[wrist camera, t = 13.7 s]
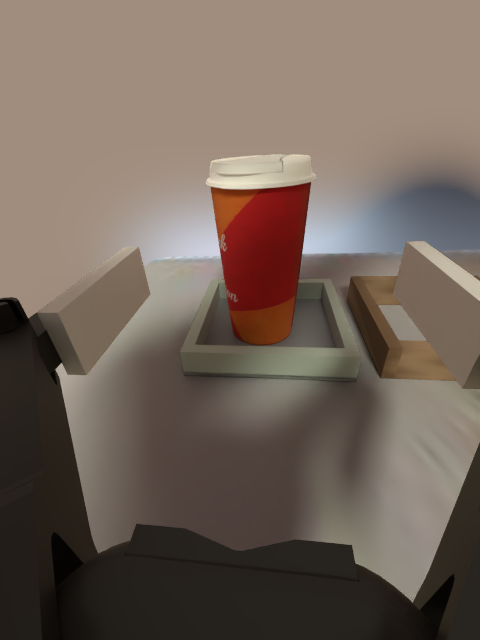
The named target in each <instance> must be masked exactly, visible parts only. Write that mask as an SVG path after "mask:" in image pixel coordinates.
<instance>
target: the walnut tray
mask: <svg viewBox="0 0 480 640" xmlns="http://www.w3.org/2000/svg"><path fill="white" fill-rule="evenodd" d="M473 277H475V278H476V279H478V280H479V281H480V278H479V277H478V276H473ZM396 280H397V276H356V277H351V279H350V285H349V291H348V297H347V301H348V304H349V306H350V308H351V310H352V313H353V315H354V317H355V320H356V322H357V324H358V327H359V329H360V331H361V334H362V336H363V338H364V340H365V343H366V345H367V347H368V350H369V352H370V354H371V357H372V359H373V361H374V364H375V366H376V368H377V371H378V373H379V375H380V377H381V378H397V379H426V380H454V381H456V379H455V378H454V377H453V375H452V374H451V372H450V371H449V370H448V368H447V367H446V366H445V364H444V363H443V362H442V360H441V359H440V358H439V356H438V355H437V353H436V352H435V351H434V349H433V348H432V347H431V345H430V344H429V343H428V341H401V340H398V339H397V337H396V335H395V334H394V332H393V330H392V329H391V327H390V325H389V324H388V322H387V320H386V319H385V317H384V315H383V314H382V312H381V310H380V309H379V307H378V305H377V304H382V305H401V304H400V303H399V302H398V300H397V299H396V298H395V296H394V295H393V292H394V288H395V284H396Z"/></svg>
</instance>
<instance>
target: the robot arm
mask: <svg viewBox="0 0 480 640" xmlns="http://www.w3.org/2000/svg"><path fill="white" fill-rule="evenodd" d="M149 295H150V290H149V286H148V282H147V278H146V274H145V270H144V266H143V262H142V258H141V254H140V250H139V247H124V248H123V249H122V250H120V251H119V252H118V253H116V254H115V255H113V256H112V257H111V258H109V259H108V260H107V261H105V262H104V263H103V264H101V265H100V266H99V267H98V268H96V269H95V270H93V271H92V272H91V273H89V274H88V275H87V276H85V277H84V278H83V279H81V280H80V281H78V282H77V283H76V284H74V285H73V286H72V287H70V288H69V289H68V290H66V291H65V292H64V293H62V294H61V295H60V296H58V297H57V298H56V299H54V300H53V301H51V302H50V303H49V304H47V305H46V306H45V307H43V308H42V309H41V310H39V311H38V312H37V313H35V314H34V315H33V316H31V317H30V318H29V319H28V317H27V315H26V314H25V312H24V310H23V308H22V306H21V304H20V302H19V300H18V299H17V298H12V297H10V298H2V299H0V640H480V443H479V446H478V448H477V451H476V453H475V456H474V458H473V461H472V463H471V466H470V468H469V471H468V473H467V476H466V479H465V481H464V484H463V486H462V489H461V491H460V494H459V496H458V499H457V501H456V504H455V506H454V509H453V511H452V514H451V516H450V519H449V522H448V524H447V527H446V529H445V532H444V534H443V537H442V539H441V542H440V544H439V547H438V549H437V552H436V554H435V557H434V559H433V562H432V565H431V567H430V569H429V572H428V574H427V576H426V578H425V580H424V582H423V584H422V586H421V588H420V589H419V591H418V593H417V595H416V597H415V599H414V601H413V603H412V602H411V601H410V600H409V599H408V598H407V597H406V596H405V595H404V594H402V593H401V592H400V591H399V590H398V589H397V588H395V587H394V586H393V585H392V584H390V583H389V582H387V581H386V580H385V579H383V578H382V577H380V576H379V575H377V574H375V573H374V572H372V571H370V570H368V569H367V568H365V567H363V566H360V565H358V564H356V563H355V560H354V554H353V549H352V545H345V544H335V543H325V542H315V541H305V540H291V541H287V542H282V543H277V544H273V545H268V546H263V547H259V548H254V549H249V550H245V551H235V550H232V549H230V548H228V547H225V546H223V545H221V544H219V543H217V542H214V541H212V540H210V539H208V538H205V537H203V536H201V535H199V534H196V533H194V532H192V531H190V530H187V529H183V528H173V527H162V526H152V525H142V524H136V527H135V530H134V533H133V535H132V538H131V541H128V542H124V543H122V544H119V545H116V546H113V547H111V548H109V549H107V550H105V551H103V552H101V553H99V554H98V552H97V550H96V547H95V545H94V542H93V539H92V536H91V532H90V527H89V522H88V517H87V512H86V507H85V502H84V497H83V492H82V487H81V482H80V478H79V473H78V468H77V463H76V458H75V453H74V448H73V443H72V438H71V433H70V428H69V423H68V419H67V414H66V409H65V404H64V399H63V394H62V389H61V384H60V379H59V376H58V374H57V372H56V370H55V369H56V368H57V367H58V366H59V365H60V364H61V363H62V364H63V366H64V368H65V370H66V372H67V374H68V375H87V374H88V373H89V371H90V370H91V369H92V368H93V366H94V365H95V364H96V362H97V361H98V360H99V359H100V357H101V356H102V355H103V354H104V352H105V351H106V350H107V348H108V347H109V346H110V345H111V343H112V342H113V341H114V340H115V338H116V337H117V336H118V335H119V333H120V332H121V331H122V329H123V328H124V327H125V326H126V324H127V323H128V322H129V321H130V319H131V318H132V317H133V316H134V314H135V313H136V312H137V310H138V309H139V308H140V307H141V305H142V304H143V303H144V302H145V300H146V299H147V298H148V296H149ZM393 295H394V296H395V298H396V299H397V300H398V302H399V303H400V304H401V306H402V307H403V308H404V310H405V311H406V313H407V314H408V315H409V317H410V318H411V319H412V321H413V322H414V323H415V325H416V326H417V328H418V329H419V330H420V332H421V333H422V334H423V336H424V337H425V338H426V340H427V341H428V343H429V344H430V345H431V347H432V348H433V349H434V351H435V352H436V353H437V355H438V356H439V358H440V359H441V360H442V362H443V363H444V364H445V366H446V367H447V368H448V370H449V371H450V372H451V374H452V375H453V377H454V378H455V379H456V381H457V382H458V383H459V385H460V386H461V387H462V388H465V389H480V281H479V280H478V279H476V278H475V277H473V276H472V275H471V274H469V273H468V272H466V271H465V270H464V269H462V268H461V267H460V266H458V265H457V264H455V263H454V262H453V261H451V260H450V259H448V258H447V257H446V256H444V255H443V254H441V253H440V252H439V251H437V250H436V249H434V248H433V247H432V246H430V245H429V244H427V243H426V242H425V241H407V242H406V245H405V249H404V253H403V257H402V261H401V265H400V268H399V272H398V276H397V280H396V284H395V288H394V292H393Z"/></svg>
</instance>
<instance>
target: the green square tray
mask: <svg viewBox="0 0 480 640" xmlns="http://www.w3.org/2000/svg"><path fill="white" fill-rule="evenodd" d="M180 356H181V361H182V366H183V371H184V375H194V376H221V377H248V378H276V379H303V380H330V381H356V380H357V375H358V371H359V367H360V362H361V358H362V357H361V354H360V351H359V349H358V346H357V344H356V341H355V338H354V336H353V333H352V331H351V328H350V326H349V323H348V320H347V318H346V315H345V313H344V310H343V308H342V305H341V302H340V300H339V297H338V295H337V292H336V290H335V287H334V284H333V282H332V279H299V281H298V289H297V297H296V304H295V311H294V318H293V324H292V329H291V333H290V335H289V336H288V337H287V338H286V339H284V340H283V341H281V342H279V343H276V344H272V345H252V344H248V343H245V342H243V341H241V340H240V339H238V338H237V337H236V336H235V334H234V332H233V329H232V324H231V318H230V312H229V306H228V300H227V293H226V287H225V280H224V279H212V280H211V283H210V285H209V287H208V289H207V292H206V294H205V296H204V298H203V301H202V303H201V305H200V307H199V310H198V312H197V314H196V316H195V319H194V321H193V323H192V325H191V328H190V330H189V332H188V334H187V337H186V339H185V341H184V343H183V346H182V348H181V350H180Z"/></svg>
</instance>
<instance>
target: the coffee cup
mask: <svg viewBox="0 0 480 640" xmlns="http://www.w3.org/2000/svg"><path fill="white" fill-rule="evenodd" d="M315 179H316V175H315V173H313V172H312V164H311V158H310V156H308V155H284V154H277V155H276V154H275V155H270V156H265V155H258V156H243V157H233V158H225V159H218V160H214V161H211V164H210V177H209V178H208V179H207V180H206V185H208V186H211V193H212V199H213V205H214V213H215V220H216V226H217V233H218V240H219V246H220V253H221V260H222V267H223V273H224V280H225V287H226V293H227V300H228V306H229V312H230V318H231V324H232V329H233V332H234V334H235V336H236V337H237V338H238V339H240V340H241V341H243V342H245V343H248V344H252V345H272V344H276V343H279V342H281V341H283V340H284V339H286V338H287V337H288V336H289V335H290V333H291V329H292V324H293V318H294V311H295V304H296V297H297V289H298V281H299V273H300V266H301V258H302V250H303V242H304V234H305V226H306V218H307V210H308V202H309V194H310V186H311V181H314V180H315Z"/></svg>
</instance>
